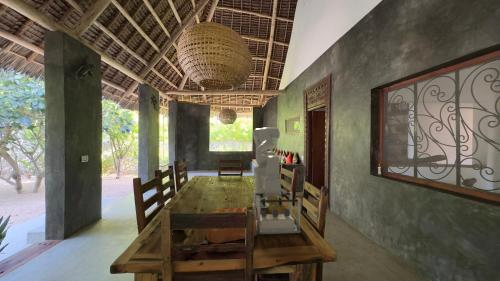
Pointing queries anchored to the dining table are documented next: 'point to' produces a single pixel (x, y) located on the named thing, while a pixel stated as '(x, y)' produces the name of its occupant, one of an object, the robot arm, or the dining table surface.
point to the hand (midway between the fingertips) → (272, 205)
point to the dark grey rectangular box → (275, 213)
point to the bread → (228, 229)
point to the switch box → (276, 222)
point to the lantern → (198, 235)
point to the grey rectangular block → (263, 213)
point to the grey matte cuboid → (286, 212)
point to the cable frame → (296, 228)
